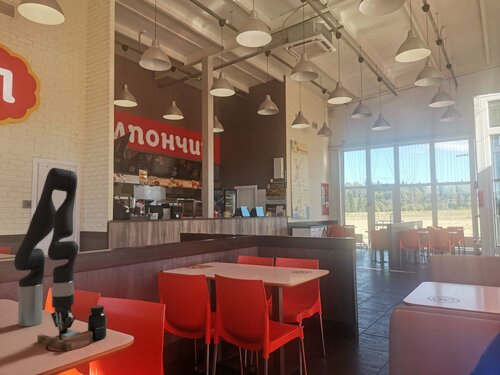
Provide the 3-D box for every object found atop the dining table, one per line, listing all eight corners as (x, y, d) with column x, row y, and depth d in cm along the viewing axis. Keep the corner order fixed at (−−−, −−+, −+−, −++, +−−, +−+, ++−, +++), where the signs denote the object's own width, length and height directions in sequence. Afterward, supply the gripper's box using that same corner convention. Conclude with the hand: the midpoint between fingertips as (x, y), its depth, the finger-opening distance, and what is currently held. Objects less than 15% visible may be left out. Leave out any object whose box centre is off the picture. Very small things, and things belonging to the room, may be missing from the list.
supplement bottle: (99, 341, 139) (99, 309, 140) (83, 340, 141) (83, 308, 141) (110, 335, 146) (110, 304, 147) (94, 334, 147) (94, 304, 148)
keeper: (61, 345, 137) (61, 334, 137) (74, 341, 141) (74, 330, 141) (68, 348, 134) (68, 336, 134) (81, 343, 138) (81, 332, 138)
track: (37, 341, 141) (37, 331, 141) (62, 334, 149) (62, 324, 149) (67, 351, 130) (67, 339, 130) (92, 342, 138) (92, 331, 139)
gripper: (44, 293, 142) (43, 339, 141) (63, 297, 135) (63, 345, 134) (62, 289, 148) (62, 333, 147) (82, 293, 141) (82, 339, 140)
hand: (62, 339), depth 141 cm, fingers closed
